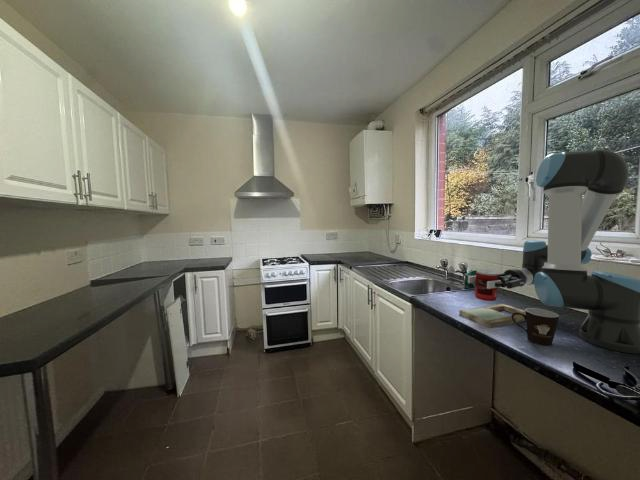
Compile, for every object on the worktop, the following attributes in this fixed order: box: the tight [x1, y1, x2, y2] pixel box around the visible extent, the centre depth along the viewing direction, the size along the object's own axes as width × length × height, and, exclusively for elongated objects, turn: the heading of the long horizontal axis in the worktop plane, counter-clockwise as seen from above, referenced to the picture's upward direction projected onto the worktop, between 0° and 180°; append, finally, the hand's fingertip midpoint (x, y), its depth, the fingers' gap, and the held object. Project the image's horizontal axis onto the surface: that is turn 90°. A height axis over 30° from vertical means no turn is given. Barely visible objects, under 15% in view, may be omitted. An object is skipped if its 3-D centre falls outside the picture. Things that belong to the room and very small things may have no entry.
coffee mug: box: [511, 307, 560, 347], centre depth 90 cm, size 12×9×10 cm
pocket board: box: [458, 303, 526, 329], centre depth 111 cm, size 14×26×2 cm, turn 110°
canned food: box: [474, 269, 499, 302], centre depth 108 cm, size 8×8×11 cm
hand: (477, 282), depth 106 cm, fingers closed on canned food, 8 cm apart
